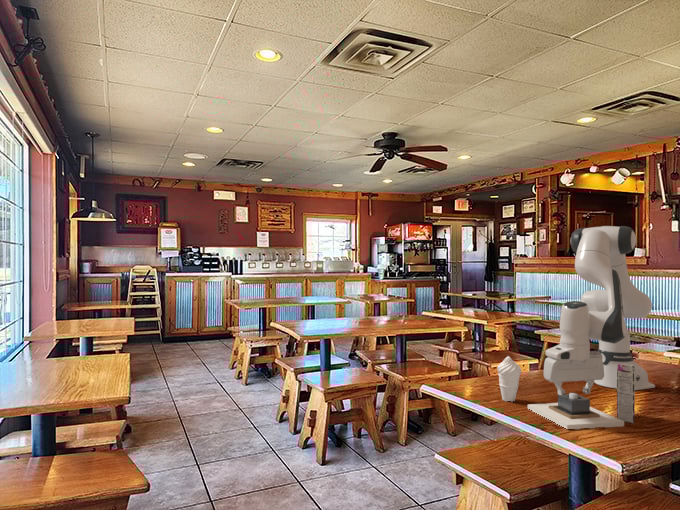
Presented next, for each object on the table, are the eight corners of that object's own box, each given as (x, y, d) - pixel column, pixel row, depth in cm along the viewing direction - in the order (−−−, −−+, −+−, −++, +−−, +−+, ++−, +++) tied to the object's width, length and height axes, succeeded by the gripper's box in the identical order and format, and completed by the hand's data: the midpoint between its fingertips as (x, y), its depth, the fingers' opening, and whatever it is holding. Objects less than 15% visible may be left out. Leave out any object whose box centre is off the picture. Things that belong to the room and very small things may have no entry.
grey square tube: (575, 408, 157) (575, 393, 157) (589, 415, 150) (589, 399, 150) (557, 409, 155) (558, 394, 155) (571, 416, 149) (571, 400, 149)
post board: (578, 406, 165) (579, 384, 165) (624, 426, 145) (624, 401, 145) (527, 408, 160) (527, 386, 161) (567, 430, 141) (567, 404, 141)
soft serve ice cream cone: (503, 395, 176) (503, 352, 176) (525, 400, 170) (525, 356, 170) (492, 399, 170) (493, 355, 170) (514, 405, 164) (515, 359, 164)
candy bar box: (617, 411, 159) (617, 363, 159) (634, 414, 157) (635, 365, 157) (615, 420, 150) (616, 369, 150) (634, 424, 147) (635, 371, 147)
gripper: (595, 348, 158) (594, 389, 158) (540, 350, 154) (540, 392, 154) (609, 352, 152) (608, 395, 152) (553, 354, 148) (552, 398, 148)
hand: (574, 394), depth 153 cm, fingers open, 8 cm apart
